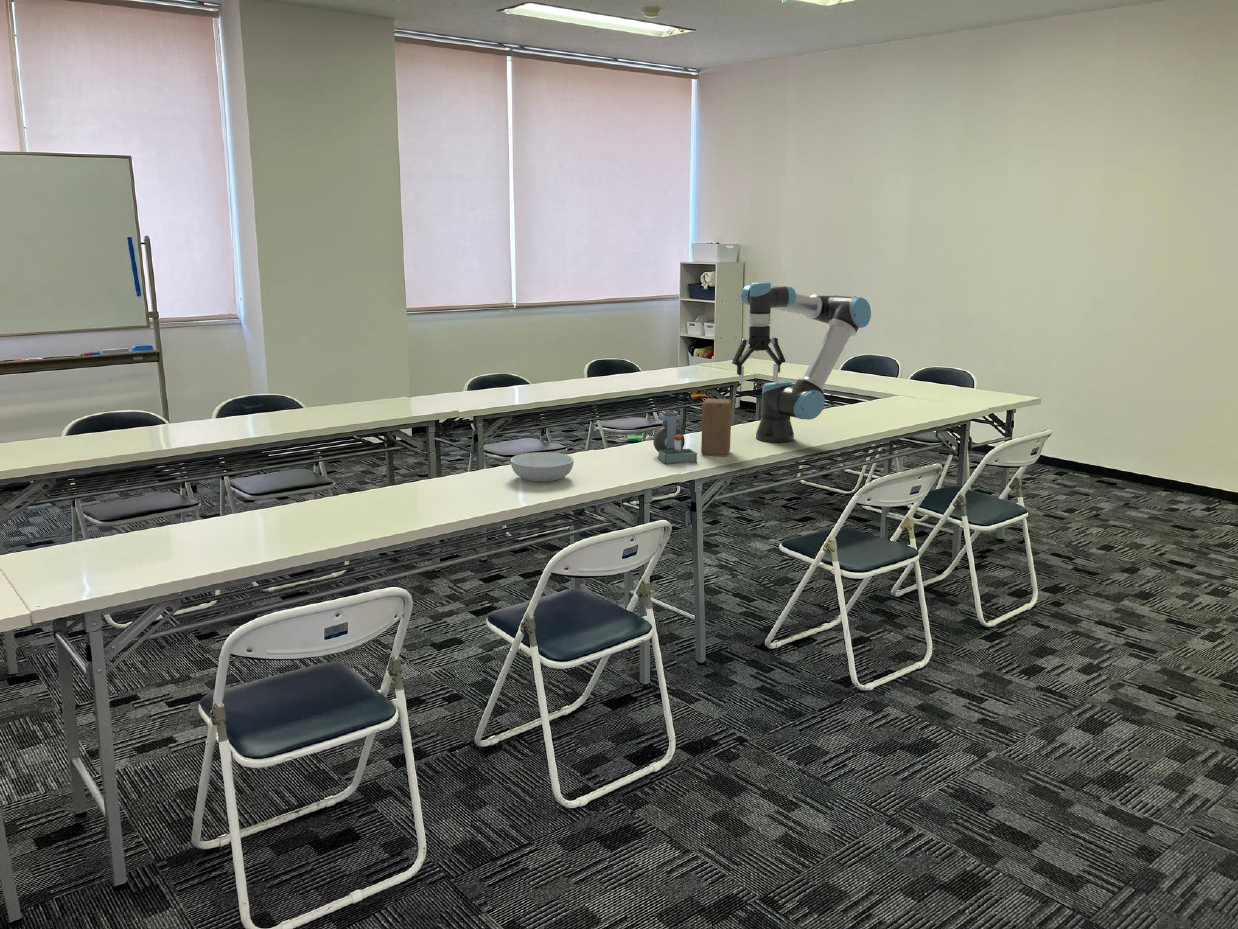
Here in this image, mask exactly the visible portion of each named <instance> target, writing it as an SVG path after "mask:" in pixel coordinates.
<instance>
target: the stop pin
mask: <svg viewBox="0 0 1238 929" xmlns="http://www.w3.org/2000/svg"><path fill="white" fill-rule="evenodd" d="M683 436H684V434H683V435H680V434H675V435H673V438H674V454H680V453H681V442H682V438H683Z"/></svg>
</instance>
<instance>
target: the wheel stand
mask: <svg viewBox="0 0 1238 929" xmlns="http://www.w3.org/2000/svg"><path fill="white" fill-rule="evenodd" d="M658 418H660V419H661V420H662V427H659V429H658V430H656V431H655V434H654V436H653V440H652V441H653V442H652V443H653V447H654V448H655V450H656V451H657V453H659V450H672V449H674V438H673V435H675V434H680V435H683V438H682V442H681V449H684V447H685V440H686V439H685V437H684V433H683V432H682V431H681V430H680V429H679V428H677V421H680V420H681V415H679V412H678V411H676V410H661V412H660V413H658Z"/></svg>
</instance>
